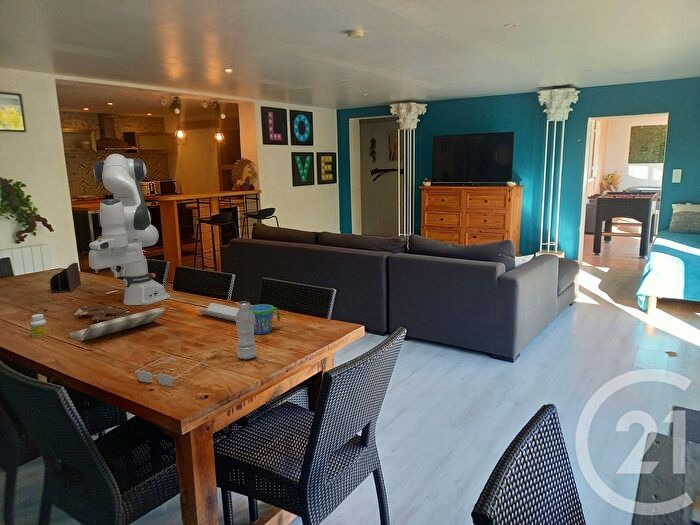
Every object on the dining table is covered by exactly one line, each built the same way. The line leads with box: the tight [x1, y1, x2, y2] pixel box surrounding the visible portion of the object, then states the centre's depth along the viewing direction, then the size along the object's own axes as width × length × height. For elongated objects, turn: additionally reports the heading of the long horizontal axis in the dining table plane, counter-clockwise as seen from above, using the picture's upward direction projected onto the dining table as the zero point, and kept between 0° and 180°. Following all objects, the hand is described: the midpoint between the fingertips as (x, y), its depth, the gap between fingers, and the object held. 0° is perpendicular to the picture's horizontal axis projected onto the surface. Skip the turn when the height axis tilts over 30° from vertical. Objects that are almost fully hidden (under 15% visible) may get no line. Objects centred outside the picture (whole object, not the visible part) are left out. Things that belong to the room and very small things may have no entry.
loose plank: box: [80, 306, 166, 342], centre depth 196 cm, size 30×12×2 cm
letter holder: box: [49, 262, 82, 294], centre depth 277 cm, size 10×20×14 cm, turn 14°
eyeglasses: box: [134, 357, 209, 387], centre depth 160 cm, size 15×18×4 cm
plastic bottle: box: [235, 300, 257, 360], centre depth 170 cm, size 6×7×20 cm
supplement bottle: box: [30, 313, 49, 339], centre depth 194 cm, size 5×5×10 cm
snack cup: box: [250, 303, 281, 335], centre depth 198 cm, size 16×10×10 cm
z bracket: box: [195, 302, 239, 322], centre depth 219 cm, size 12×25×6 cm
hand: (119, 276), depth 193 cm, fingers closed
